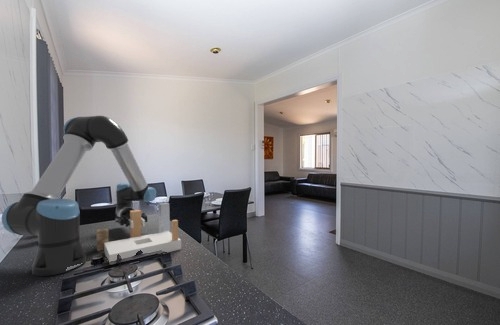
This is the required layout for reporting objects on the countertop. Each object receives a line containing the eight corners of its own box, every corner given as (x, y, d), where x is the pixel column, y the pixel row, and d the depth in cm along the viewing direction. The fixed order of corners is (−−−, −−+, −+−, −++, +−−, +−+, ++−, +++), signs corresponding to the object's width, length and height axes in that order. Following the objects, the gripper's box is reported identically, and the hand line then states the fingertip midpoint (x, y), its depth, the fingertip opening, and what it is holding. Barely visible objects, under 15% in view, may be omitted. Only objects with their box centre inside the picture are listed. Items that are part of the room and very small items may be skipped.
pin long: (161, 238, 117) (160, 204, 117) (159, 236, 120) (158, 203, 120) (170, 236, 119) (169, 203, 119) (167, 234, 123) (166, 202, 122)
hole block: (109, 266, 87) (108, 232, 86) (104, 252, 99) (103, 223, 99) (181, 249, 102) (180, 220, 102) (168, 239, 115) (168, 213, 115)
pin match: (131, 239, 109) (131, 212, 109) (130, 236, 113) (129, 210, 112) (141, 237, 112) (141, 211, 112) (139, 235, 115) (139, 209, 115)
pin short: (97, 251, 101) (97, 231, 101) (96, 248, 105) (96, 229, 105) (108, 248, 104) (108, 229, 104) (107, 246, 107) (107, 227, 107)
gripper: (145, 219, 132) (158, 229, 113) (109, 225, 121) (116, 236, 103) (145, 205, 132) (158, 212, 113) (108, 209, 121) (116, 218, 103)
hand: (138, 224), depth 108 cm, fingers closed on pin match, 4 cm apart
